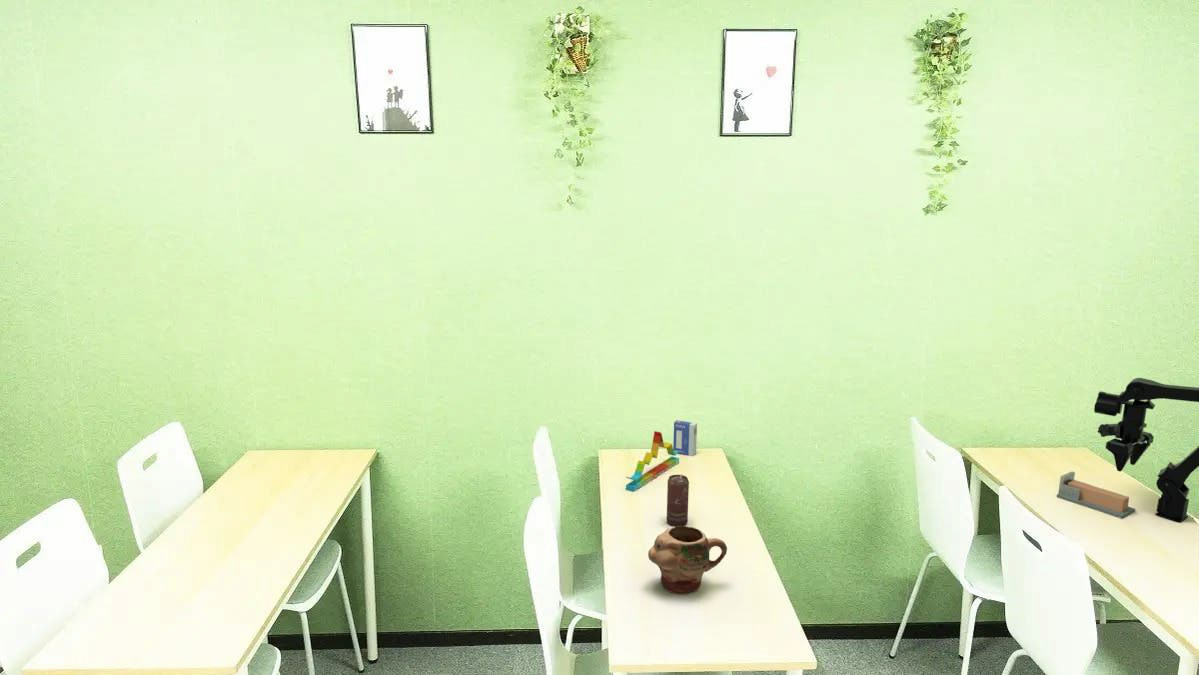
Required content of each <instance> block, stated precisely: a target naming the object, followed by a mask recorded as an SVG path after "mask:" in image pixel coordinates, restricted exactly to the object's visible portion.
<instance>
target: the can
mask: <svg viewBox="0 0 1199 675" xmlns="http://www.w3.org/2000/svg"><path fill="white" fill-rule="evenodd" d="M689 486H690V481H689V479H688V477H687V476H686V475H684V474H672V475H670V476H669V477H668V479H667V494H666V497H667V498H666V522H667V524H668V525H669V526H671V527H676V526H680V525H682V526H687V524H688V521H689V520H688V518H689V489H690V487H689Z"/></svg>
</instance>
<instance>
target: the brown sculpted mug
mask: <svg viewBox="0 0 1199 675" xmlns="http://www.w3.org/2000/svg"><path fill="white" fill-rule="evenodd" d="M714 547H718V548H720V551H721V553H720V555H719V556H718V557H717V558H716V559H715V560H711V559H710V551H711V550H712V548H714ZM727 551H728V547H727V544H726V542H725V541H724V540H723V539H720V538H717V537H715V538H714V537H713V538H712V537H710V538H707V536H706V534H705V533H704V532H703V531H702V530H701V529H699V528H696V527H693V526H689V525H684V526H682V525H680V526H676V527H675V526H672V527H670V528H667V529H666V530H665V531H663V532H661V533H660V534H658V535H657V536H656V538H655V540H654V543H653V545H652V546H651V548H650V549H649V550H648V553H647V554H648V555H647V556H648V559H649V561H651V562H652V563H653V564H655V565H656V566H657V567H658V568H659V571H660V575H661V576H660V583H661V586H662V587H663V588H664V589H665V590H667V591H669V592H671V593H673V594H676V595H677V594H678V595H688V594H694V593H696V592H697V591H699V589H700V588H701V585H702V579H703V575H704V573H707V572H710V570H712V569H713V568H715V567H717V566H718V565H719V564H720V563H721V562H722V561H723V559H724V557H725V556H726V555H727Z"/></svg>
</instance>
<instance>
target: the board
mask: <svg viewBox="0 0 1199 675" xmlns="http://www.w3.org/2000/svg"><path fill="white" fill-rule="evenodd" d="M1056 498H1059V499H1061V500H1064V501H1067V502H1069V503H1074V504H1077V505H1080V506H1082V507H1086V508H1089V509H1092V510H1094V511H1098V512H1101V513H1103V514H1106V515H1110V516H1113V517H1116V518H1119V519H1124V518H1126V517H1127V516H1129V515H1131V514H1133V513H1135V512H1136V508H1135V507H1131V506H1128V508H1127V510H1125V511H1123V512H1119V511H1115V510H1112V509H1109V508H1106V507H1103V506H1100V505H1097V504H1094V503H1091V502H1088V501H1084V500H1081V499H1079V500H1075V499H1072V498H1069V497H1066V496H1063V495H1060V494H1058V493H1057V494H1056Z"/></svg>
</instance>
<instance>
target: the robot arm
mask: <svg viewBox="0 0 1199 675" xmlns="http://www.w3.org/2000/svg"><path fill="white" fill-rule="evenodd" d="M1157 399H1158V400H1159V399H1160V400H1163V399H1164V400H1172V401H1173V400H1174V401H1183V402H1184V401H1185V402H1191V403H1192V402H1193V403H1199V387H1195V386H1187V385H1186V386H1185V385H1184V386H1183V385H1176V384H1175V385H1174V384H1164V383H1160V382H1158V381H1156V380H1151V379H1148V378H1143V377H1136V378H1133V379H1132V380H1131V381H1130V382H1128V384H1127V385H1126V388H1125V390H1124V391H1121V392H1120V394H1115V393H1108V392H1106V391H1101V390H1100V391H1099V392H1098V393H1097V398H1096V402H1095V404H1094V408H1093V411H1094V414H1099V415H1105V416H1110V417H1116V416H1117V415H1121V414H1122V416H1121V418H1122V419H1121V420H1120V421H1118V422H1117V423H1102V424H1100V425H1099V426H1098V430H1097V433H1098V434H1099V435H1100V437H1101V438H1105V437H1110V436H1111V437H1113V436H1114V438H1113V439H1110V440H1108V441H1106V442H1105V449H1106V450H1107V451H1108V452H1110V453H1112V454H1113V459H1114V462H1115V467H1116V471H1117V472H1122V471H1123V469H1124V468H1125V466H1126V465H1127V463H1128V462H1129V464H1130V465H1132V466H1135V465H1136V464H1137V463H1138V461H1139V460H1140V459H1141V457H1142V456H1143V455H1144V454H1145V452H1146V451H1147V450H1148V449H1149V447H1150V446H1151V444H1152V443H1154V435H1153V434H1152V433H1151V432H1149V431H1148V432H1147V431H1144V429H1145V428H1146V427H1147V425H1148V424H1147V423H1145V422H1146V415H1147V410H1148V409H1149V410H1153V409H1154V408H1155V407H1156V404H1155V403H1153V401H1152V400H1157ZM1131 400H1132V401H1131ZM1122 410H1123V412H1122ZM1198 467H1199V445H1198V446H1197V447H1196V448H1194V449H1193V450H1192V451H1191V452H1190V453H1189V454H1188V455H1187V456H1185V457H1184V459H1182V460H1181V461H1180V462H1178V463H1175V464H1174V463H1173V462H1172V461H1170V462H1169V463H1168V464H1167V465H1166V466H1165V467H1164V468H1162V469H1160V471H1159V473H1158V474H1157V477H1158V478H1157V480H1156V482H1155V483H1156V487H1157V489H1158V490H1159V491H1160V492H1161V493H1162V494H1161V495H1160V497H1159V498H1158V501H1157V504H1156V505H1157V507H1156V512H1155V515H1156V516H1158V517H1161V518H1163V519H1167V520H1170V521H1174V522H1177V523H1182V522H1184V521H1185V520H1186V519H1188V518H1189V515H1187V512H1188V507H1189V502H1190V499H1189V498H1188V495H1189V492H1190V488H1189V486H1187V485H1186V484H1185V482H1186V481H1187V479H1188V478H1189V477H1190V475H1191V474H1192V473H1193V472H1194V471H1195V470H1196V469H1198Z"/></svg>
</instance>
